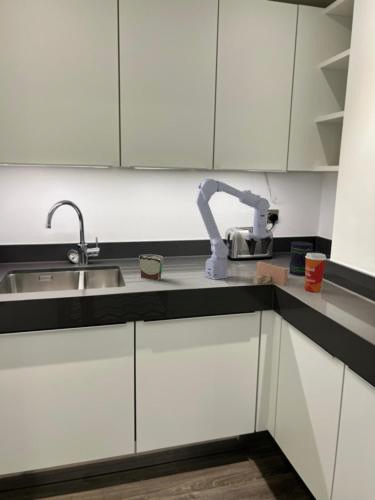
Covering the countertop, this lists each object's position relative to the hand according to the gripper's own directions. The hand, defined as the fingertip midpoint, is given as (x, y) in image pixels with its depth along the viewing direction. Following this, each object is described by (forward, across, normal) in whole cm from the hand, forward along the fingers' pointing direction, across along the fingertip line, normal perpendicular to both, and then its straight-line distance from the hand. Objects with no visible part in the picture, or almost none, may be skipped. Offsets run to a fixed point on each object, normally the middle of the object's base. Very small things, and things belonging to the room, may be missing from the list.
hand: (257, 254), depth 171 cm
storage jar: (+10, +22, -7) cm, 25 cm away
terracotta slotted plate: (+10, 0, -9) cm, 14 cm away
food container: (+11, -43, +19) cm, 49 cm away
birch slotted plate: (+10, 0, -9) cm, 14 cm away
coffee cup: (+10, +5, -28) cm, 30 cm away
